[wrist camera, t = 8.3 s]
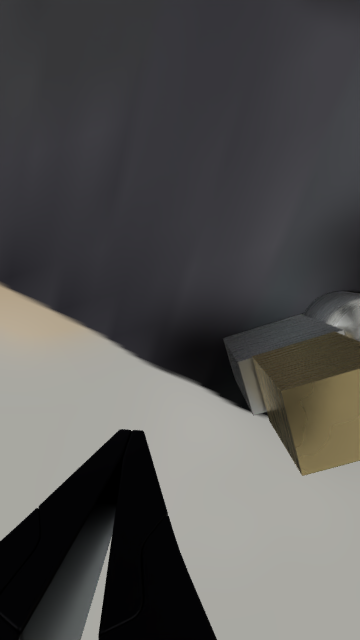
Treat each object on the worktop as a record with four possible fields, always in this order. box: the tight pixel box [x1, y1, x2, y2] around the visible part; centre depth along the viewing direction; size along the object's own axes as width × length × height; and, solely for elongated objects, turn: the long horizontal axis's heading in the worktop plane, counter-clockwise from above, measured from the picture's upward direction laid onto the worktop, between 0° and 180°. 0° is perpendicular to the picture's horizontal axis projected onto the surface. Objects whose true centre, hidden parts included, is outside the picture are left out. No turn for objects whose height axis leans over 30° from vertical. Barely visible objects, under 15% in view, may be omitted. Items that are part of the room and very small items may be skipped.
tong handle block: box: [223, 291, 360, 415], centre depth 10 cm, size 7×4×3 cm, turn 108°
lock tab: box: [252, 331, 360, 476], centre depth 7 cm, size 3×3×2 cm
